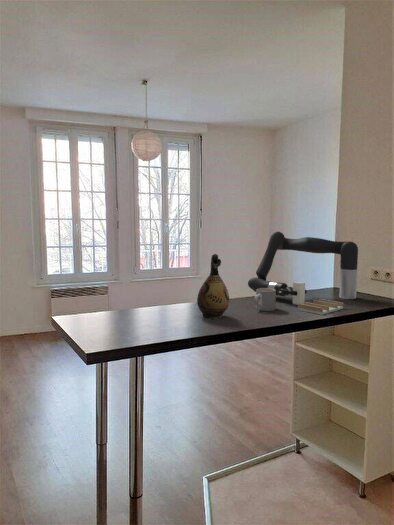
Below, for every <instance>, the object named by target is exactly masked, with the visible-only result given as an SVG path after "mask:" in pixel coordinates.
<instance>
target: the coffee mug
mask: <svg viewBox="0 0 394 525" xmlns="http://www.w3.org/2000/svg"><path fill="white" fill-rule="evenodd" d="M255 293H256V294H255V295H254V298H253V304H254V305H255V309H256V310H258V311H261V312H262V311H263V312H264V311H265V312H271V311H275V310H276V298H277V297H276V296H277V295H276V290H275V289H270V288H259V289H256V292H255Z"/></svg>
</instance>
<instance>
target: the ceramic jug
mask: <svg viewBox="0 0 394 525" xmlns="http://www.w3.org/2000/svg"><path fill="white" fill-rule="evenodd" d="M210 260H211V261H210V274H209V275H208V276H207V277H206V278H205V280H204V281H203V283H202V284H201V286H200V289H199V291H198V294H197V300H196V304H197V307H198V309H199V311H200V312H201V313H202V318H204V319H208V318H211V319H210V320H215V319H216V318H217V319H221V318H222V316H223V315H224V313H225V312H226V311H227V310H228V308H229V305H230V296H229V293H230V292H229V290H228V289H227V286H226V284H225V283H224V281H223V279H222V277H221V276H220V274H219V270H218V268H219V267H220V266H221V264H222V261H221V259H220V258H219V255H218V254H216V253H213V254H212V255H211V259H210ZM220 317H221V318H220ZM214 318H215V319H214Z"/></svg>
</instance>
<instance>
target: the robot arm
mask: <svg viewBox="0 0 394 525" xmlns="http://www.w3.org/2000/svg"><path fill="white" fill-rule="evenodd" d="M279 250H280V251H296V252H304V253H312V254H336V255H340V263H339V264H340V271H339V294H338V296H339V298H340V299H344V300H354V299H355V300H356V299H357V288H358V287H357V286H358V285H357V284H358V282H357V280H358V279H357V278H358V262H359V261H358V258H359V257H358V256H359V247H358V245H357V243H355V242H354V241H335V240H329V239H324V238H319V237H309V236H307V237H300V238H289V237H285V234H284V233H283V232H281V231H275V232H273V233H272V234H271V235H270V237H269V241H268V243H267V247H266V249H265V252H264V255H263V256H262V259H261V261H260V263H259V264H258V266H257V269H256V271H255V275H256V277H251V278H250V279H249V280H248V281H247V286H248V287H249V288H250V290H252V291H253V292H255V293H256V289H259V288H270V289H275V290H276V296H280V297H285V296H293V295H295V296H297V291H293V286H288V284H287V283H286V282H279V281H271V280H270V281H269V280H267V278H268V275H269V273H270V271H271V269H272V266H273V262H274V259H275V256H276V254H277V251H279ZM307 292H308V289H305V295H306V294H307Z"/></svg>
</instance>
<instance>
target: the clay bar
mask: <svg viewBox="0 0 394 525" xmlns="http://www.w3.org/2000/svg"><path fill="white" fill-rule="evenodd" d="M292 287H293V291H297V296H295V295H292V304H293V305H297V306H298V304H304V302H306V301H305V298H306V296H305V295H306V294H305V290H306V282H303V281H294V282H292Z"/></svg>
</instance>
